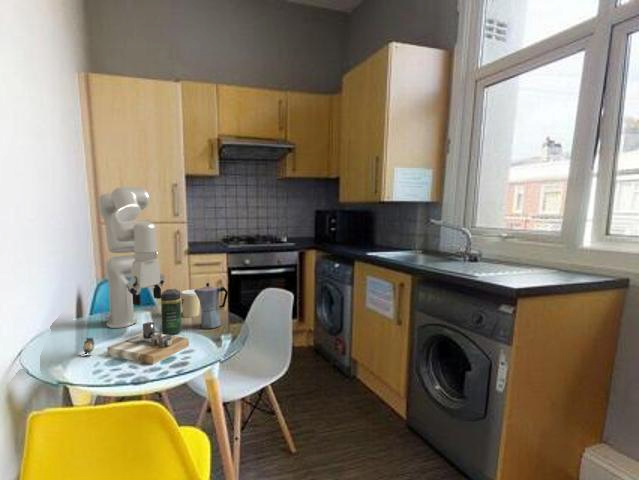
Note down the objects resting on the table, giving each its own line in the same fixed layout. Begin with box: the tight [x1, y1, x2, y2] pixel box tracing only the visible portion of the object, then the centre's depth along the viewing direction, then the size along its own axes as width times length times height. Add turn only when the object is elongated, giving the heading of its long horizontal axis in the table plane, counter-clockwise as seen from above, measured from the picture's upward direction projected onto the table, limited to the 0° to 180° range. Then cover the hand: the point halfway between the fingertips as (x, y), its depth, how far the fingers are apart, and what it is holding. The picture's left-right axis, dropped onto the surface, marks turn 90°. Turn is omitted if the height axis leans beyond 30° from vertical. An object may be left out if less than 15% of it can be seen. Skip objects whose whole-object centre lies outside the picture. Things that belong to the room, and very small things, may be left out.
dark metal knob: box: [141, 321, 172, 345], centre depth 137 cm, size 13×4×7 cm, turn 69°
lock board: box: [106, 332, 190, 365], centre depth 138 cm, size 22×18×6 cm
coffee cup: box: [180, 289, 201, 318], centre depth 183 cm, size 9×9×12 cm
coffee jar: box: [160, 288, 182, 336], centre depth 158 cm, size 10×8×19 cm
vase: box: [82, 337, 95, 357], centre depth 135 cm, size 5×5×6 cm
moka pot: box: [194, 282, 229, 330], centre depth 166 cm, size 10×15×20 cm, turn 95°
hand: (147, 301), depth 137 cm, fingers open, 9 cm apart
